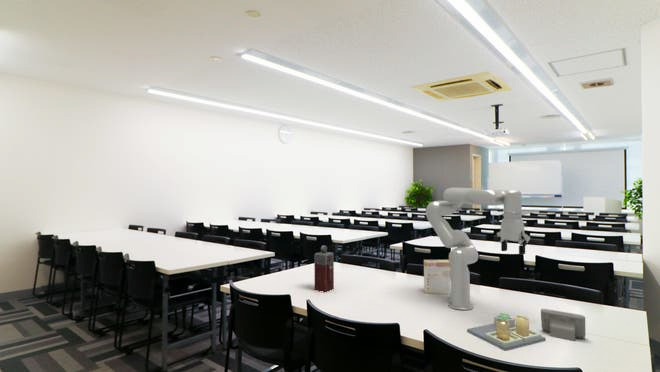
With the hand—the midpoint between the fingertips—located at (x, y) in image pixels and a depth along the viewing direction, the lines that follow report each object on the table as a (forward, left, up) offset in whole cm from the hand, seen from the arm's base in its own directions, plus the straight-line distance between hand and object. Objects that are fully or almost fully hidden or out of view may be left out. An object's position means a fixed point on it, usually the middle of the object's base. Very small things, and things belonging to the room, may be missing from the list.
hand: (512, 252), depth 166 cm
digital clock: (+18, +8, -34) cm, 39 cm away
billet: (+13, -21, -32) cm, 40 cm away
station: (+9, -16, -33) cm, 38 cm away
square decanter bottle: (-86, -61, -34) cm, 111 cm away
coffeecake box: (-54, 0, -34) cm, 64 cm away
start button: (+3, -10, -31) cm, 33 cm away
